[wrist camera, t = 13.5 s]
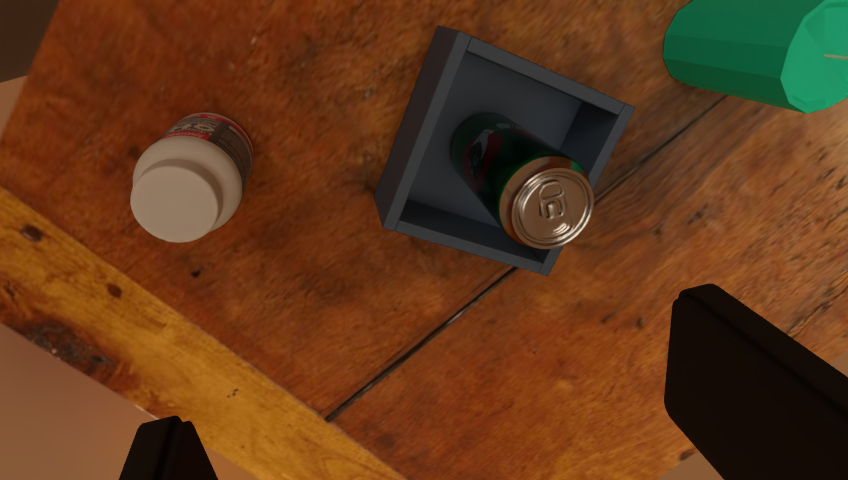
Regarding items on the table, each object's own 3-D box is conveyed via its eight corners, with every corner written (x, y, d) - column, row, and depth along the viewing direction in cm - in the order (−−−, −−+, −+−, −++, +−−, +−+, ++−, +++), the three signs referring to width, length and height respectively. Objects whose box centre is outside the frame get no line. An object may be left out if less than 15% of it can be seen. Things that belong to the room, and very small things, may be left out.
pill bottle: (218, 94, 33) (183, 129, 24) (271, 165, 35) (257, 221, 26) (146, 139, 33) (86, 191, 24) (204, 207, 35) (167, 276, 27)
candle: (650, 78, 38) (785, 112, 27) (680, -14, 35) (840, -18, 24) (721, 90, 39) (875, 126, 28) (754, 2, 37) (936, 5, 26)
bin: (373, 197, 37) (382, 228, 32) (437, 25, 33) (458, 30, 28) (519, 242, 41) (548, 276, 36) (592, 92, 37) (636, 107, 32)
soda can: (456, 190, 38) (512, 268, 27) (441, 122, 35) (496, 177, 25) (523, 171, 38) (605, 240, 27) (513, 102, 36) (597, 147, 25)
